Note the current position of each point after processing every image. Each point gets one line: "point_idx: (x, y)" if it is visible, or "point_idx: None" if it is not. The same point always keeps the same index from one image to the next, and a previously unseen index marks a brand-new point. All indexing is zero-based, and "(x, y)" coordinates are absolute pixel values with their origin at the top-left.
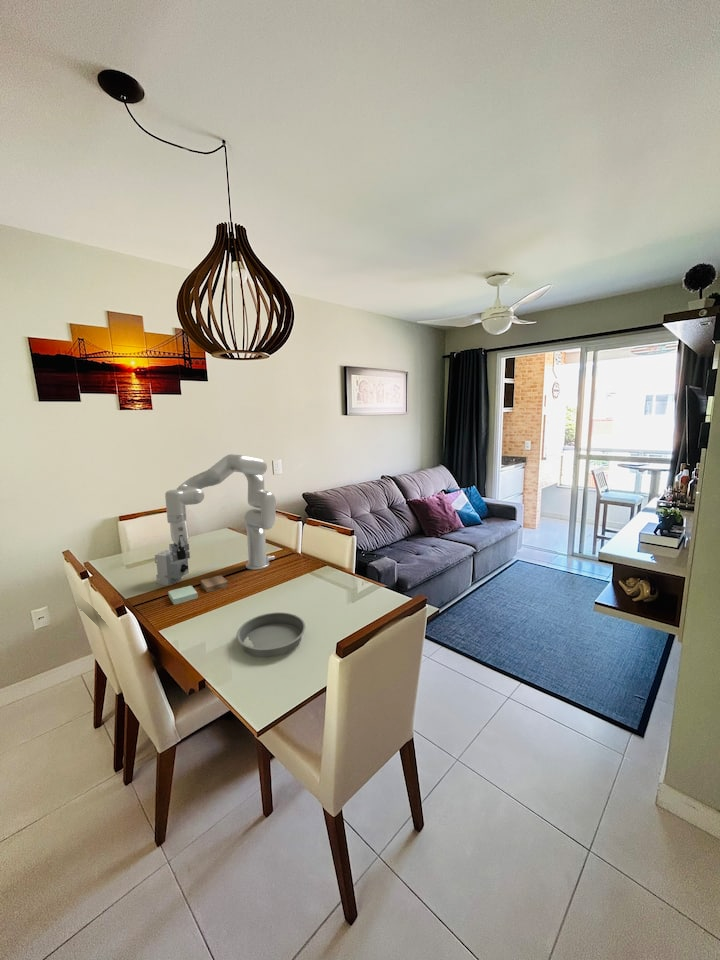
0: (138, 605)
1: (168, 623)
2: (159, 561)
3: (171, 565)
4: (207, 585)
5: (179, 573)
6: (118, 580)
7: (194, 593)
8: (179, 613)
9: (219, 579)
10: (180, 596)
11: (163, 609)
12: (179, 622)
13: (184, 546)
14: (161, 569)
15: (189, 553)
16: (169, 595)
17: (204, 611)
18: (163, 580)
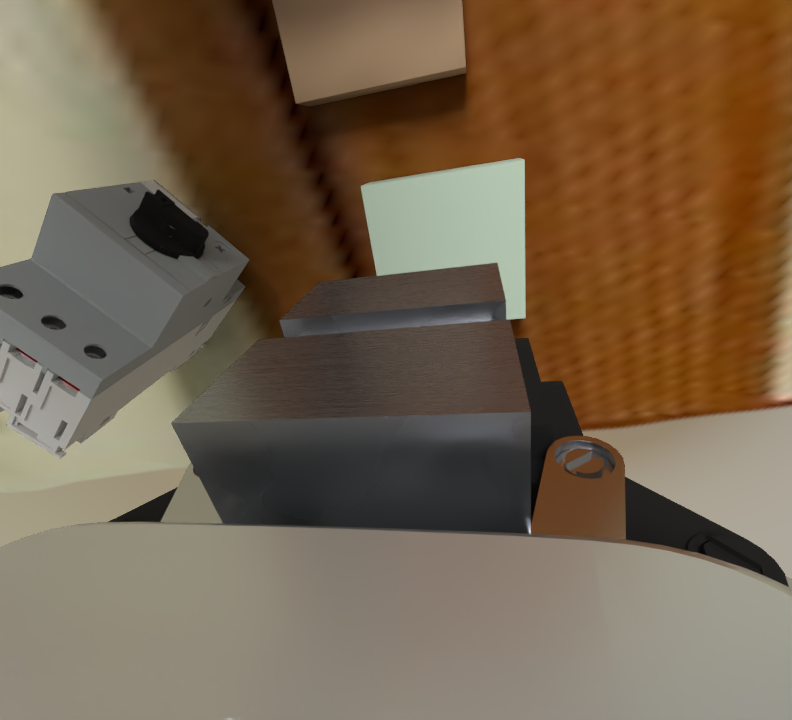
0: None
1: (733, 355)
2: (113, 405)
3: (168, 329)
4: (428, 54)
5: (222, 261)
6: (127, 464)
7: (520, 183)
8: (660, 293)
9: None
10: (507, 276)
11: (541, 356)
12: (779, 307)
13: (621, 518)
14: (161, 367)
15: (502, 291)
16: None
17: (776, 141)
18: (208, 329)
